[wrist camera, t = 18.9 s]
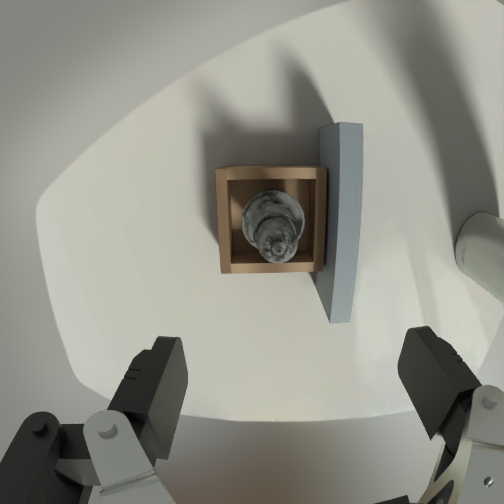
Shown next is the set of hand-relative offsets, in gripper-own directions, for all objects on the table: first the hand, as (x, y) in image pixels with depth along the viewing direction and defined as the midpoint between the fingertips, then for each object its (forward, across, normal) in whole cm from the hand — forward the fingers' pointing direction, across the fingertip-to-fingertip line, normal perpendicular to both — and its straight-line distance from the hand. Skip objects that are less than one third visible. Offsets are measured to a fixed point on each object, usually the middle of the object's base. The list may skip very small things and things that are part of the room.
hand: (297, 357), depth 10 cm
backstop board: (+24, -6, 0) cm, 24 cm away
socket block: (+23, 0, 0) cm, 23 cm away
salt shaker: (+23, 0, 0) cm, 23 cm away
